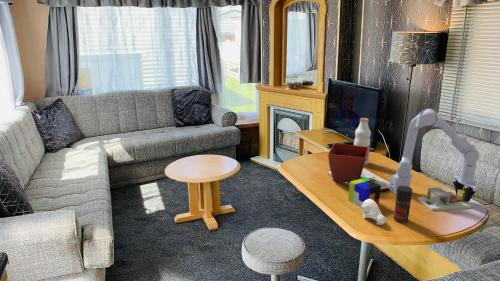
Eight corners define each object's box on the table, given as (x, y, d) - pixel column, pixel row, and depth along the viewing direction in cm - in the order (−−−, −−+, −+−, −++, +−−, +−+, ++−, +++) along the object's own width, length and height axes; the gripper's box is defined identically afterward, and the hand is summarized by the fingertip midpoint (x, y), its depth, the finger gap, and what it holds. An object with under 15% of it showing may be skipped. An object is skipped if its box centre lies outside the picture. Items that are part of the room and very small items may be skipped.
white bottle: (349, 162, 229) (353, 118, 220) (357, 159, 235) (361, 116, 226) (362, 166, 222) (367, 121, 214) (370, 162, 228) (375, 118, 220)
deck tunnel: (431, 210, 171) (433, 197, 169) (417, 199, 181) (419, 187, 179) (472, 207, 174) (475, 194, 172) (456, 197, 184) (459, 184, 182)
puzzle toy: (362, 209, 172) (365, 189, 169) (348, 200, 181) (349, 181, 177) (378, 204, 176) (381, 185, 173) (363, 196, 185) (365, 177, 182)
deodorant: (391, 216, 165) (395, 185, 161) (403, 216, 166) (408, 185, 161) (397, 223, 160) (401, 191, 155) (410, 222, 160) (415, 191, 156)
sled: (445, 203, 175) (447, 194, 173) (439, 199, 179) (441, 190, 177) (468, 201, 176) (470, 192, 175) (462, 197, 181) (464, 188, 179)
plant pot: (325, 182, 200) (327, 153, 195) (332, 170, 217) (334, 142, 212) (362, 188, 193) (365, 158, 188) (365, 175, 210) (368, 147, 205)
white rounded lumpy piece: (372, 195, 165) (392, 209, 156) (368, 212, 169) (388, 226, 159) (361, 198, 163) (381, 213, 153) (358, 215, 166) (377, 230, 156)
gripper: (486, 178, 168) (481, 205, 172) (464, 166, 181) (459, 191, 185) (472, 178, 167) (467, 206, 171) (451, 167, 180) (446, 192, 184)
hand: (462, 198), depth 178 cm, fingers open, 5 cm apart
